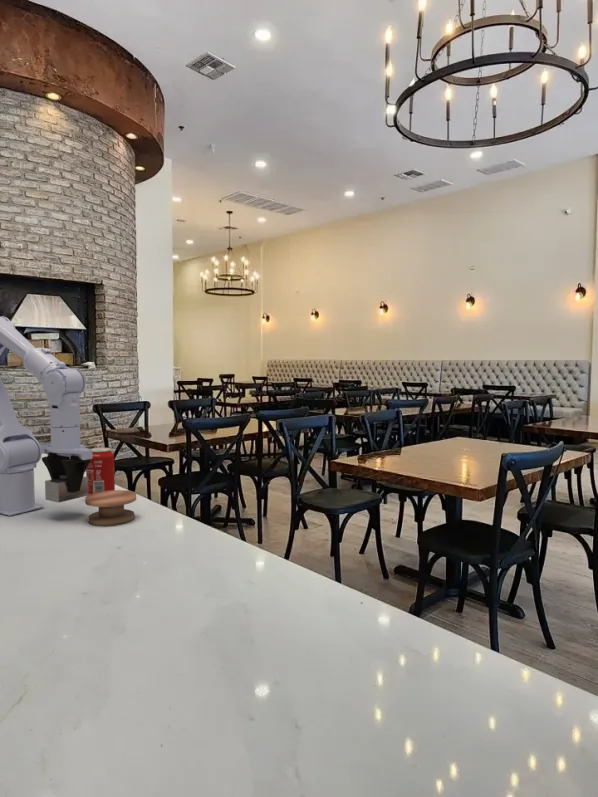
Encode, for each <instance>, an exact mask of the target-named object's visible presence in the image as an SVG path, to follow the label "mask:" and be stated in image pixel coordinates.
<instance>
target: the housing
mask: <svg viewBox="0 0 598 797" xmlns="http://www.w3.org/2000/svg"><path fill="white" fill-rule="evenodd" d="M44 490H45V491H44V492H45V494H44V495H45V497H44V498H45V500H46V501H50V502H54V503H58V504H59V503H63V502H67V501H71V500H72V501H73V500H75V499H76V500H77V499H79V498H84V497H86V496H88V477H86V476H83V479H82V483H81V488H80V491H77V492H73V493H70V492H69V489H68V482H67V475H66V473H63V474H60V475H59V478H56V479H51V478H50V479H48V480H45V481H44Z"/></svg>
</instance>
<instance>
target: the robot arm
mask: <svg viewBox="0 0 598 797" xmlns="http://www.w3.org/2000/svg"><path fill="white" fill-rule="evenodd" d="M5 349H8V350H9V351H11V352H12V353H13V354H15V355H16V356H17V357H19V358H21V359H22V360H23V361H22V364H23V367H24V369H25V370H26V371H28V372H29V373H30V374H31V375H32V376H34V377H35V378H36V379H37V380H39V381H40V382H41V386H42V388H43V391H44V393H45V395H46V397H47V400H46V401H47V403H48V405H49V418H50V419H49V420H50V422H49V424H50V443H41V444H40V442H39V441H38V440H37V439H36V438H35V436H34V434H33V431H32V430H31V429H29V428H28V427H26V426H24V425H22V424H20V422H19V419H18V417H17V415H16V413H15V410H14V409H15V408H14V407H13V405H12V402H11V400H10V397H9V395H8V394H9V393H8V392H7V389H6V386H5V384H4V381H3V379H2V376H1V375H0V514H1V515H5V516H14V515H18V514H23V513H26V512H30V511H36V510H39V509H43V508H44V505H43V504H39V503H36V502H35V501H36V499H35V498H36V496H35V468H37V466H38V465H37V464H38V463H39V462H40V460H41V461H42V463H43V464H44V466H45V468H46V469H47V472H48V474H49V477H50V480H51V479H56V478H59V475H60V474H63V473H66V475H67V482H68V489H69V492H70V493H73V492H77V491H80V488H81V483H82V479H83V476H84V475H85V474H86V468H87V466H88V465H89V463H90V461H91V459H92V449H93V448H87V447H85V446H86V445H85V444H81V412H80V411H81V408H80V405H81V404H80V402H81V401H80V400H81V399H80V398H81V397H80V395H81V394H82V393H83V392H84V390H85V388H86V378H85V375H84V374H83V372H82V371H81V370H80V369H79V368H77V367H69V366H67V365H66V363H65V362H64V361H60V360H59V359H58V358H57V357H56V356H55V355H53V354H52V350H51V349H49V348H46V347H45V348H44V347H35V346H34V345H33V344H32V343H31V342H30V341H29V340H28V339H27V338H26V337H25V336H24V335H22V333H21V332H19V331H18V329H16V324H15V323H14V322H13V321H11V320H10V319H9V318H8V317H6V316H3V315H2V316H0V356H1V355H3V352H4V351H5ZM43 454H44V455H46V454H48V455H47V456H43V457H42V455H43ZM84 477H85V476H84Z"/></svg>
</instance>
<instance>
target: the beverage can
mask: <svg viewBox="0 0 598 797" xmlns="http://www.w3.org/2000/svg"><path fill="white" fill-rule="evenodd" d="M91 449H92V459H91V461H90V463H89V465H88V466H87V468H86V470H85V477H88V495H90V494H93V493H97V492H102V491H111V490H116V488H115V486H116V483H115V482H116V480H115V454H114V453H113V452H112V449H111V448H110V447H95V448H91Z"/></svg>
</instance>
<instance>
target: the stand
mask: <svg viewBox="0 0 598 797" xmlns="http://www.w3.org/2000/svg"><path fill="white" fill-rule="evenodd" d="M84 497H85V498H84V500H85V504H86V506H89V507H95V508H98V511H95V512H93V513H91V514H89V515H88V520H87V521H88V523H89V524H90V525H92V526H96V527H112V526H119V525H124V524H128V523H130V522H132V521H133V520H134V519H135V512H134V511H133V510H132V509H125V505H128V504H131V503H134V502H136V501H137V493H136V492H135V491H132V490H127V489H126V490H123V489H121V490H120V489H115V490H111V491H102V492H97V493H93V494H90V495H88V496H84Z"/></svg>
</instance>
